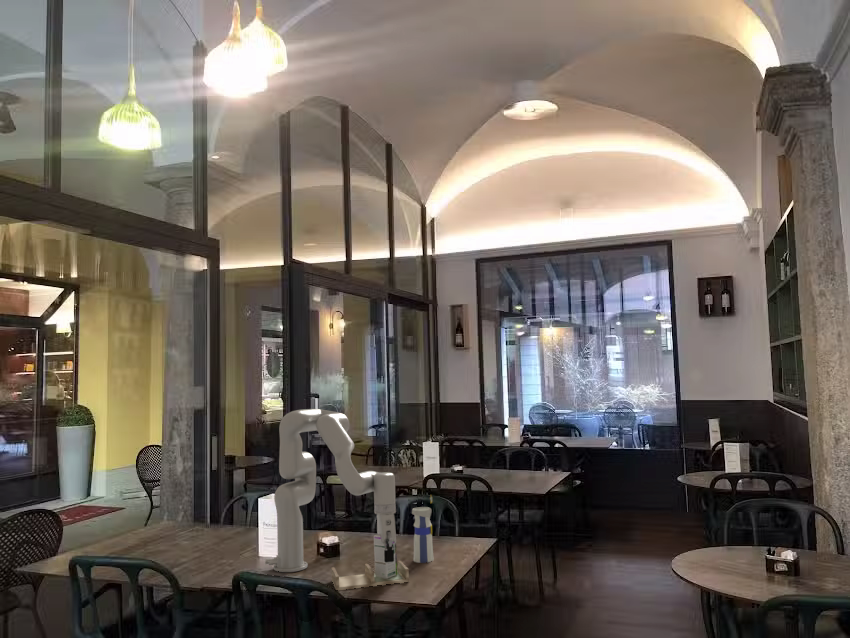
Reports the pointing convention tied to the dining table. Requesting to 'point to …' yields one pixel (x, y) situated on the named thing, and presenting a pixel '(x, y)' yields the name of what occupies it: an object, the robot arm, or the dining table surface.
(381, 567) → the syrup box
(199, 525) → the dining table surface
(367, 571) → the slot rack
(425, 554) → the water bottle
